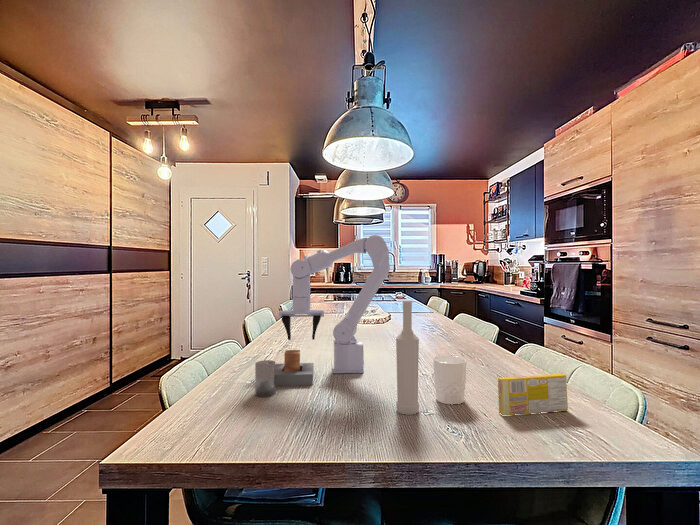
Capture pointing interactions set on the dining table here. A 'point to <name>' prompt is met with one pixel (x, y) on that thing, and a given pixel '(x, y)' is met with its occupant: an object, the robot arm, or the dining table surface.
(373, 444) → the dining table surface
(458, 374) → the white cup
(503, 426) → the dining table surface
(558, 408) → the candy box
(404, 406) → the bottle
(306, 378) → the bore block
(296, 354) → the square peg
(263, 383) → the round dowel
